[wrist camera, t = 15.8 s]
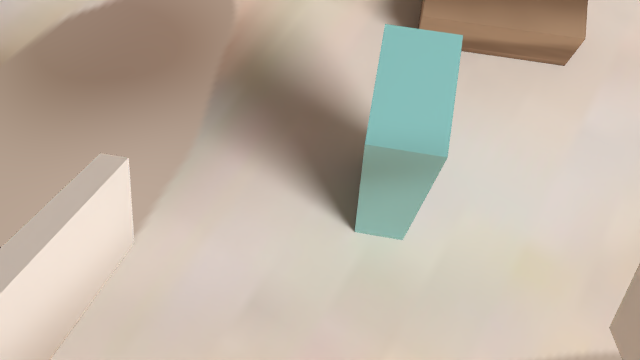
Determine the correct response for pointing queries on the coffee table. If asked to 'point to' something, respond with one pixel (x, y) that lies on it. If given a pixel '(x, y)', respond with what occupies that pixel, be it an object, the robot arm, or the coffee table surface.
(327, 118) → the coffee table surface
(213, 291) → the coffee table surface
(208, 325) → the coffee table surface
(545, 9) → the walnut box
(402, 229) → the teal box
